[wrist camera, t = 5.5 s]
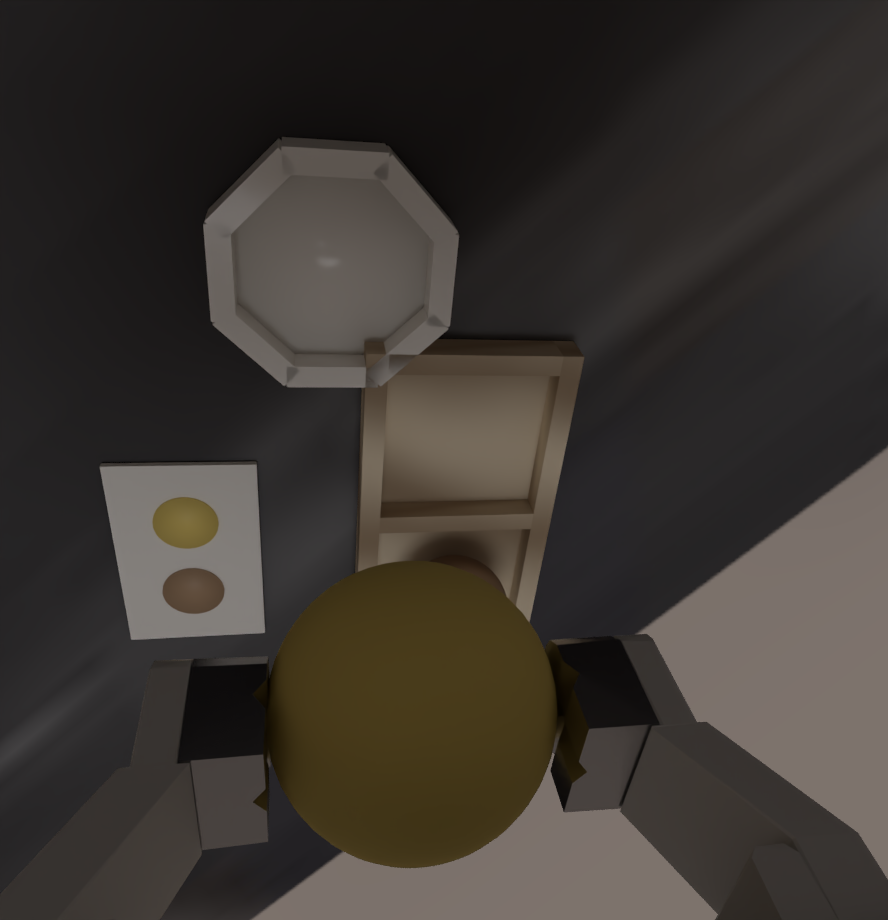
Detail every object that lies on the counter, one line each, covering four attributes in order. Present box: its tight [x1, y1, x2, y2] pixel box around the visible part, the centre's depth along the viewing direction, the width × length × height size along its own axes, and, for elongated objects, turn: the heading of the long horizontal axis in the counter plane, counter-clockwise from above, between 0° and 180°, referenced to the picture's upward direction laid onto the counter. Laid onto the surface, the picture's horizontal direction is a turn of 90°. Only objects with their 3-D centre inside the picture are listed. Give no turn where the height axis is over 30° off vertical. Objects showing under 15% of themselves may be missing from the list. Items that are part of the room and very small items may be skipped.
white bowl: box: [203, 137, 459, 388], centre depth 22 cm, size 7×7×1 cm
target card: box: [100, 461, 265, 640], centre depth 28 cm, size 8×5×1 cm, turn 175°
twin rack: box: [355, 339, 584, 622], centre depth 28 cm, size 13×7×1 cm, turn 175°
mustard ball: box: [266, 561, 557, 868], centre depth 11 cm, size 4×4×4 cm
